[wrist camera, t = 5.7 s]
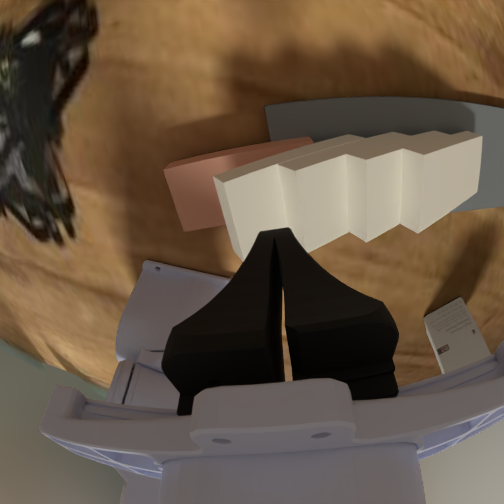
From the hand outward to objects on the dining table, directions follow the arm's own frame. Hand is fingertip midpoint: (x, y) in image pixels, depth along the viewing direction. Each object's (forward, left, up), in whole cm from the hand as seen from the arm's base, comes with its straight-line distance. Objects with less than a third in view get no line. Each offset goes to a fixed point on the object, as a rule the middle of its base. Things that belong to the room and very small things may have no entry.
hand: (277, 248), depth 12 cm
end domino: (+3, +1, -8) cm, 9 cm away
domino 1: (+6, +3, -8) cm, 10 cm away
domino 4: (+16, +7, -8) cm, 19 cm away
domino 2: (+9, +4, -8) cm, 13 cm away
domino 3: (+12, +6, -8) cm, 16 cm away
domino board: (+12, +6, -10) cm, 17 cm away
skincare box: (+27, -10, -10) cm, 30 cm away
